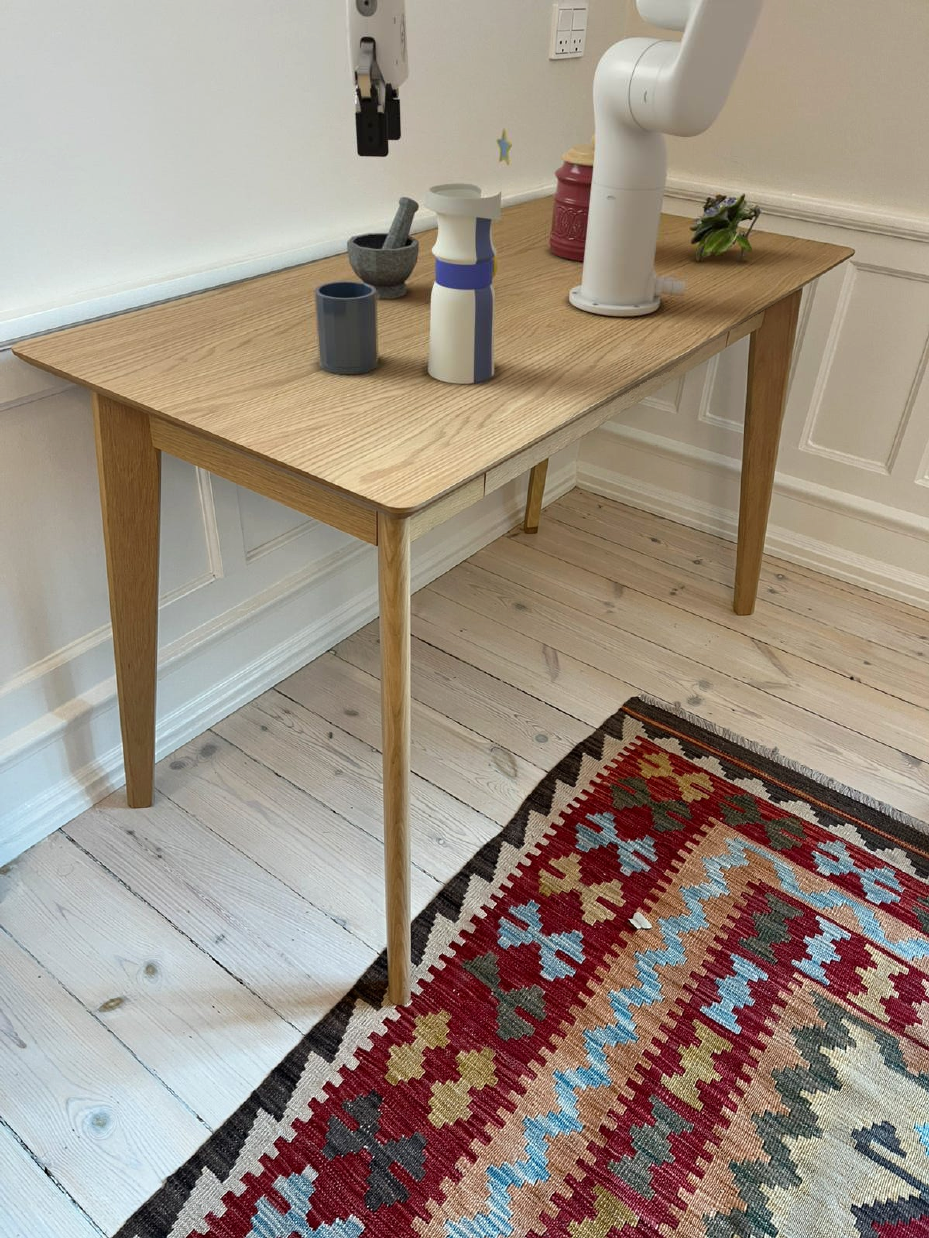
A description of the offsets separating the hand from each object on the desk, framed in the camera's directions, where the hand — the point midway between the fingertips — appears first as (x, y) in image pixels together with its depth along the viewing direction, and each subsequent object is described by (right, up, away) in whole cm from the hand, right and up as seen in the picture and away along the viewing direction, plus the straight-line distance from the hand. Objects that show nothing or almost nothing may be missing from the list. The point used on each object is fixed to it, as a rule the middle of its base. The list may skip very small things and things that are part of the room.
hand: (380, 147), depth 100 cm
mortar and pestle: (-2, -5, +32) cm, 32 cm away
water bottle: (+9, -22, +7) cm, 25 cm away
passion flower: (+52, +8, +52) cm, 74 cm away
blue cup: (-4, -21, +8) cm, 23 cm away
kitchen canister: (+29, +9, +52) cm, 60 cm away
